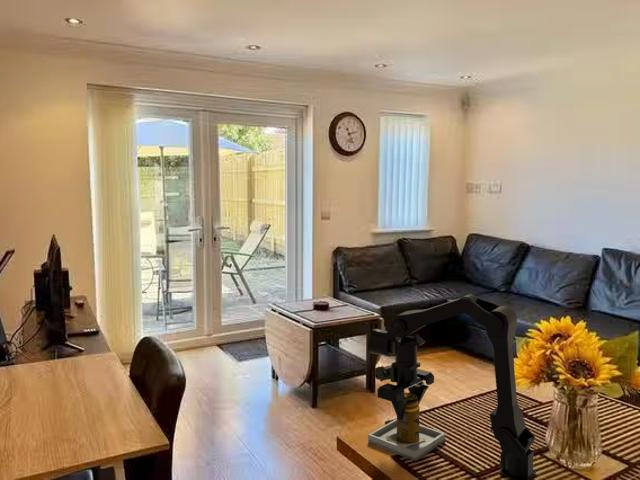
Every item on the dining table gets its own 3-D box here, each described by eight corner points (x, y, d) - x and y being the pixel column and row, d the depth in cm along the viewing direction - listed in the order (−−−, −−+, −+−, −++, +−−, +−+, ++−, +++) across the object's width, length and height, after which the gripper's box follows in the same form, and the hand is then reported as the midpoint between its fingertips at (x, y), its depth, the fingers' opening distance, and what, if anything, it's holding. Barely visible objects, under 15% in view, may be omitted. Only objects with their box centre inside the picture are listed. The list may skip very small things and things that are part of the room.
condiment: (426, 440, 144) (426, 397, 143) (402, 449, 139) (402, 405, 138) (407, 429, 150) (407, 388, 149) (384, 438, 145) (384, 395, 144)
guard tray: (445, 441, 145) (445, 433, 145) (415, 461, 135) (415, 453, 135) (398, 424, 156) (398, 417, 155) (368, 442, 146) (368, 434, 145)
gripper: (401, 345, 155) (402, 397, 157) (360, 361, 142) (361, 418, 143) (435, 353, 148) (435, 407, 149) (394, 370, 134) (395, 430, 136)
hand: (406, 415), depth 145 cm, fingers closed on condiment, 6 cm apart
